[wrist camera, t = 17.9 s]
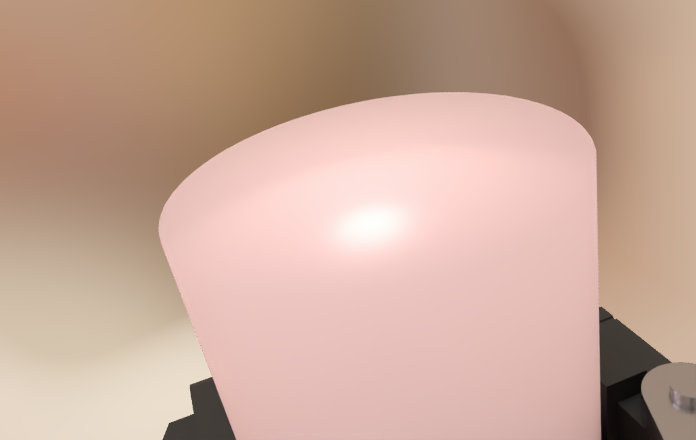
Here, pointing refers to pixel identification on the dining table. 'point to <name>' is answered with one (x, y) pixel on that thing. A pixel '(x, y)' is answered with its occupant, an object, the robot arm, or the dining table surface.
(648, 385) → the robot arm
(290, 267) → the cover
